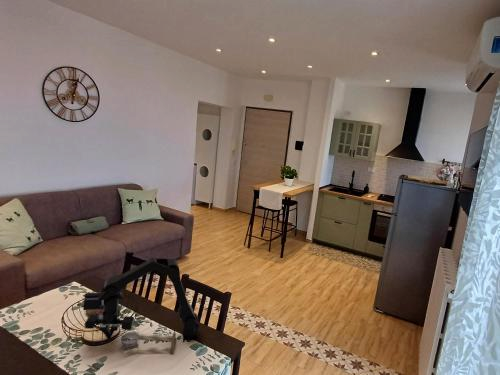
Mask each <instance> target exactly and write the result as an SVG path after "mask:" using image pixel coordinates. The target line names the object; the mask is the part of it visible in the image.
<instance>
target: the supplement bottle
mask: <svg viewBox="0 0 500 375" xmlns="http://www.w3.org/2000/svg"><path fill="white" fill-rule="evenodd" d="M103 308H104V301H102V306H101V307H100V309H95V315H99V319H103ZM96 325H100V324H96Z"/></svg>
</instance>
